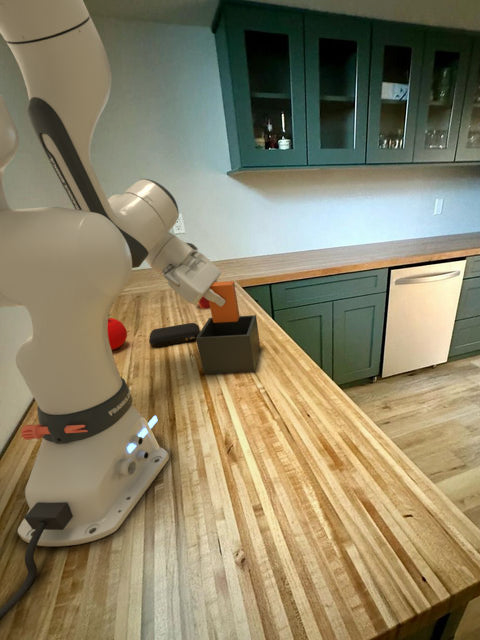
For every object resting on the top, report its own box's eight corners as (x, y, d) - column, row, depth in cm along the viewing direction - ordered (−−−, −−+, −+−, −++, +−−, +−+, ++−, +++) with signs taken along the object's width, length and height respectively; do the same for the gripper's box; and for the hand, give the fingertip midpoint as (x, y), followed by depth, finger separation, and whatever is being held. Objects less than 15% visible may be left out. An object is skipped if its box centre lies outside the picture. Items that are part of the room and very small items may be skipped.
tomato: (109, 340, 105) (97, 310, 100) (138, 341, 103) (128, 310, 98) (84, 355, 97) (70, 323, 92) (115, 357, 94) (103, 323, 89)
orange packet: (237, 321, 81) (231, 284, 77) (213, 323, 81) (205, 286, 77) (239, 316, 84) (234, 280, 80) (216, 318, 84) (208, 282, 80)
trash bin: (254, 371, 82) (249, 335, 77) (203, 374, 83) (195, 338, 78) (260, 347, 94) (256, 315, 89) (215, 350, 94) (209, 317, 90)
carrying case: (150, 351, 96) (202, 341, 100) (147, 341, 95) (200, 332, 99) (151, 337, 105) (199, 329, 109) (148, 328, 104) (197, 320, 108)
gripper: (166, 259, 66) (225, 305, 70) (195, 242, 83) (240, 279, 88) (150, 283, 68) (208, 326, 73) (181, 262, 86) (226, 297, 90)
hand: (225, 300), depth 80 cm, fingers closed on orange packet, 3 cm apart
